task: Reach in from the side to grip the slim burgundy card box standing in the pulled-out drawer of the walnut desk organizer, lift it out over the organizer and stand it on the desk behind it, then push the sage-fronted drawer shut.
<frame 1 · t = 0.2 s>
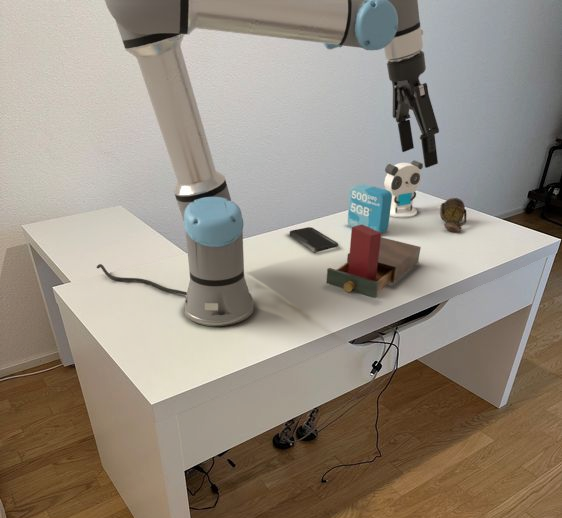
hand: (419, 157, 123), 28 cm above the table, tool tilted 20°, fingers open, 13 cm apart
drawer: (364, 274, 130), point 3 cm above the table, slide at 8.5 cm, touching card box
organizer: (382, 270, 139), on the table
phone: (312, 241, 154), on the table
vintage travel clock: (449, 225, 166), on the table
data package: (367, 229, 162), on the table
card box: (361, 282, 130), point 1 cm above the table, touching drawer
panda figurine: (398, 212, 175), on the table
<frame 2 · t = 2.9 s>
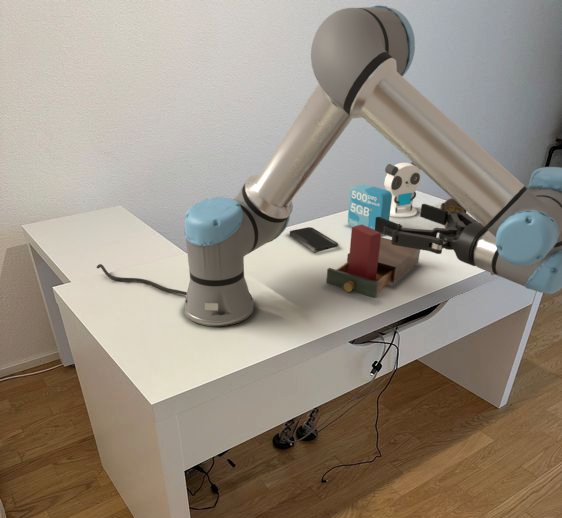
hand: (399, 216, 113), 20 cm above the table, tool horizontal, fingers open, 13 cm apart
nothing on the table moved.
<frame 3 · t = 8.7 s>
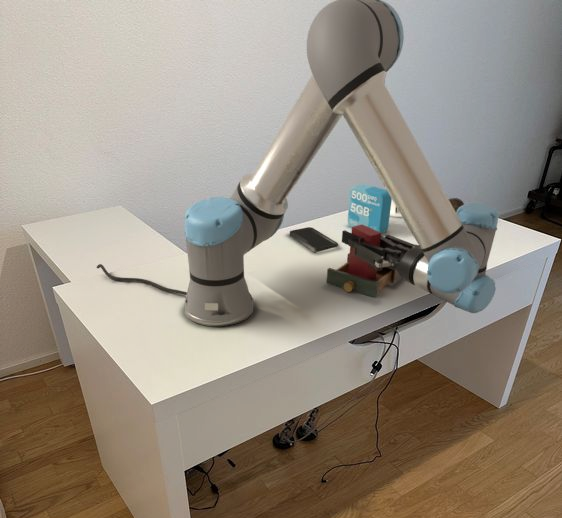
hand: (349, 234, 128), 12 cm above the table, tool horizontal, fingers closed on card box, 3 cm apart
card box: (361, 282, 130), point 1 cm above the table, touching drawer, gripper
everything else where it was.
when the fingers open (10 cm above the table, at t = 18.2 s): card box stays where it is, on the table.
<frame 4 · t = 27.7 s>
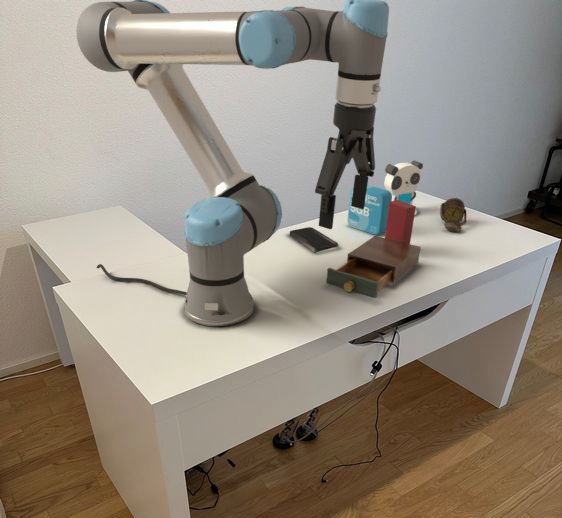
hand: (342, 216, 111), 21 cm above the table, tool pointing down, fingers open, 13 cm apart
drawer: (364, 274, 130), point 3 cm above the table, slide at 8.5 cm
card box: (395, 250, 149), on the table
everything else where it was.
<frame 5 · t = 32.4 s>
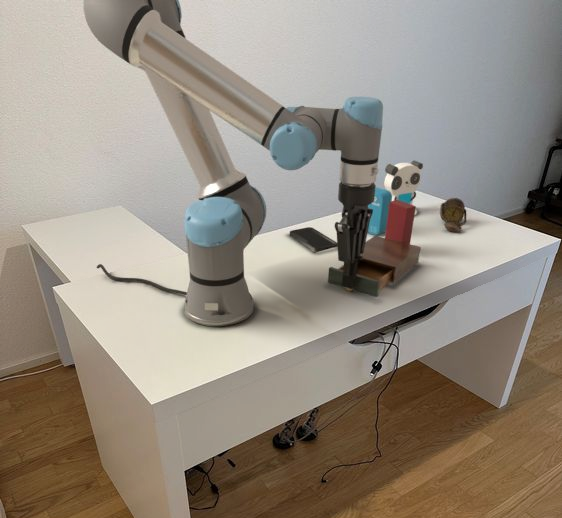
hand: (348, 286, 124), 3 cm above the table, tool pointing down, fingers closed
drawer: (366, 273, 131), point 3 cm above the table, slide at 7.8 cm, touching gripper
everything else where it was.
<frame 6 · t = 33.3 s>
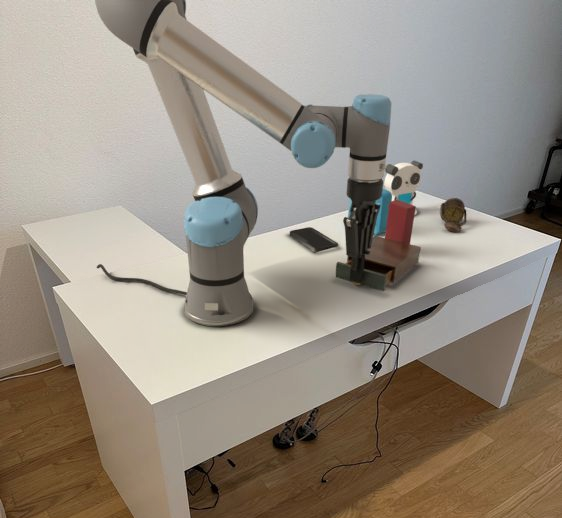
hand: (356, 280, 127), 3 cm above the table, tool pointing down, fingers closed
drawer: (372, 268, 133), point 3 cm above the table, slide at 4.2 cm, touching gripper
everything else where it was.
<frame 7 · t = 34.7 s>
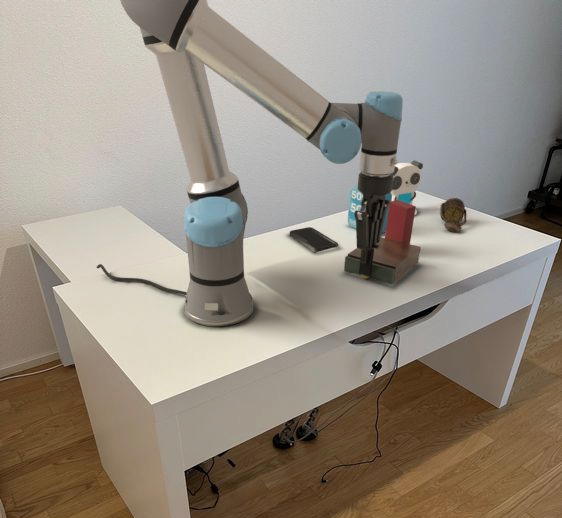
hand: (364, 274, 130), 3 cm above the table, tool pointing down, fingers closed
drawer: (380, 262, 136), point 3 cm above the table, slide at -0.1 cm, touching gripper
everything else where it was.
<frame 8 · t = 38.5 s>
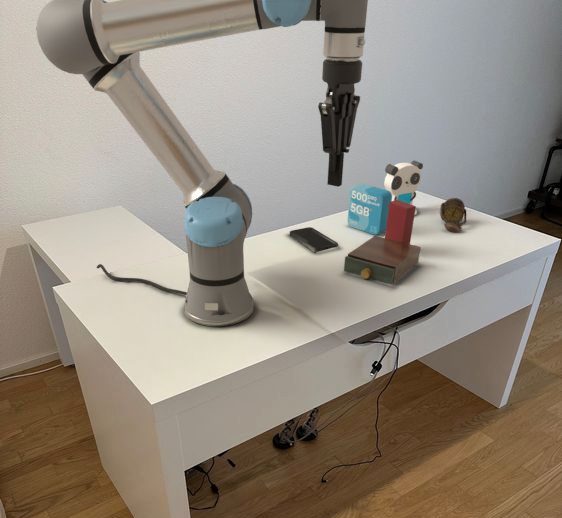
hand: (334, 184, 116), 24 cm above the table, tool pointing down, fingers closed
drawer: (380, 262, 136), point 3 cm above the table, slide at 0.0 cm
everything else where it was.
at the end: card box inside the target area (0.1 cm from its centre), on the table; card box tilted 0°; drawer slide at 0.0 cm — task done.
